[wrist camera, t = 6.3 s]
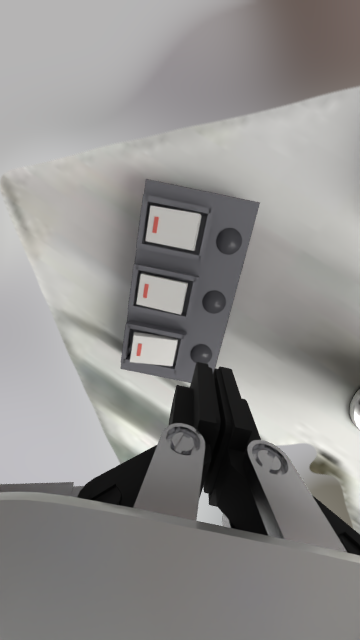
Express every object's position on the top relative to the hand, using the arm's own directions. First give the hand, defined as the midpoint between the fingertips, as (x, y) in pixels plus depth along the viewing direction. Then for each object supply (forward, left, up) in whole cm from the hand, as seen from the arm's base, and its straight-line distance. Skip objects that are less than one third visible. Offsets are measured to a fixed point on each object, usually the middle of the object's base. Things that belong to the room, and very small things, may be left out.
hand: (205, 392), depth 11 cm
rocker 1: (+5, -9, -20) cm, 22 cm away
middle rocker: (+5, -1, -20) cm, 21 cm away
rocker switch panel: (+2, -1, -25) cm, 25 cm away
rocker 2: (+5, +7, -20) cm, 22 cm away
